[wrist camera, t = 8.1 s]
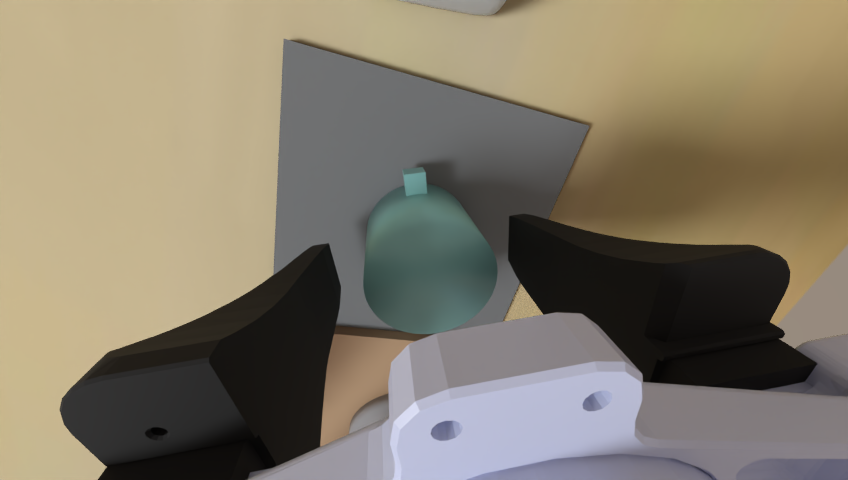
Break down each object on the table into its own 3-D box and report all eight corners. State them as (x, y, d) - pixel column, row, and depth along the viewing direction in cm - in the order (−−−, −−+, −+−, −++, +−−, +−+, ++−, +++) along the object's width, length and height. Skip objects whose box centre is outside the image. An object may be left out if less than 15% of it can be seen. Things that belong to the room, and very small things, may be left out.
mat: (583, 124, 13) (589, 126, 13) (491, 335, 18) (494, 340, 18) (287, 40, 10) (283, 38, 10) (274, 314, 15) (271, 319, 15)
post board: (536, 340, 19) (562, 382, 16) (468, 470, 24) (479, 518, 22) (294, 316, 16) (277, 363, 13) (281, 472, 21) (267, 527, 19)
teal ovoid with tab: (468, 280, 15) (495, 338, 12) (378, 294, 15) (378, 358, 12) (465, 158, 13) (500, 186, 9) (354, 171, 12) (345, 206, 9)
